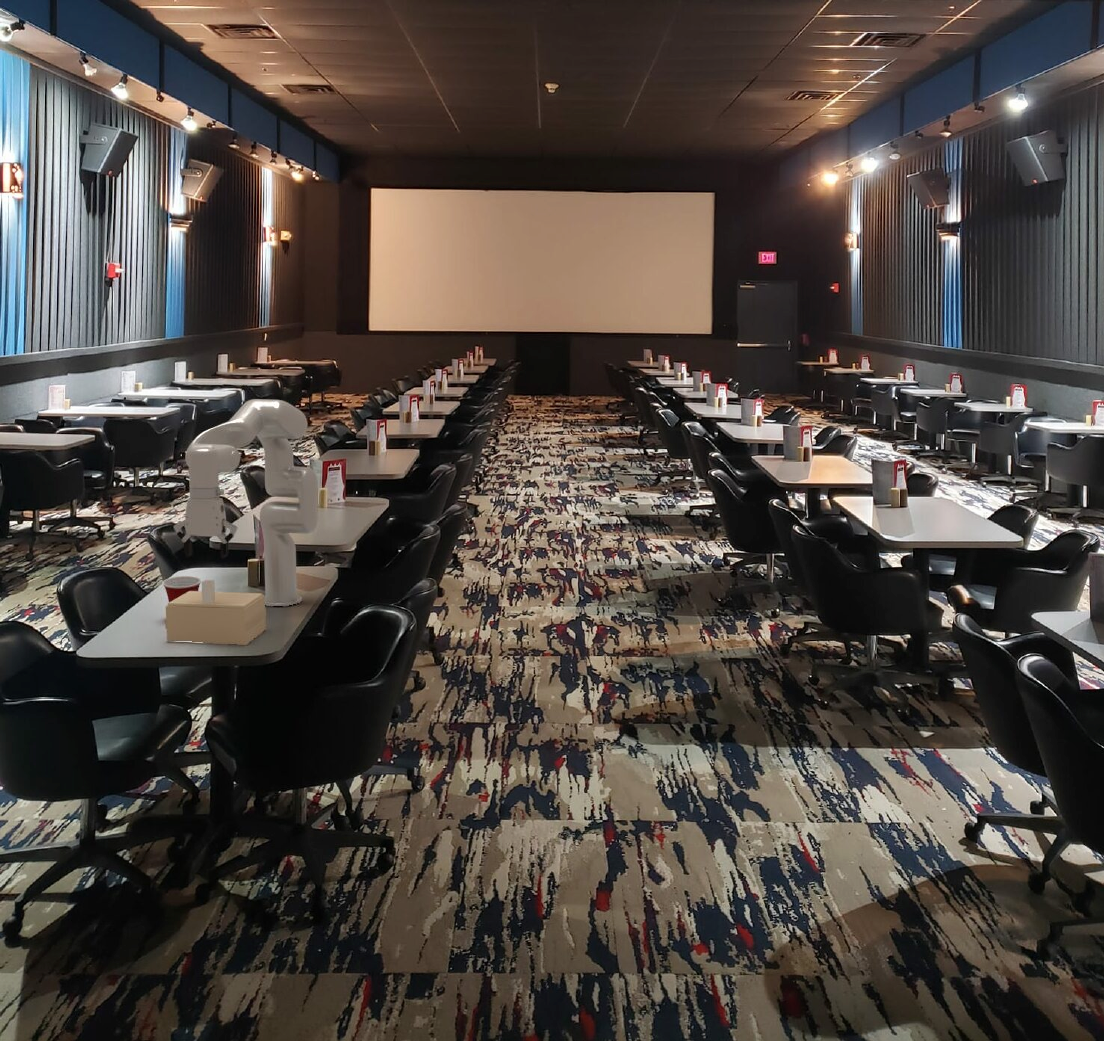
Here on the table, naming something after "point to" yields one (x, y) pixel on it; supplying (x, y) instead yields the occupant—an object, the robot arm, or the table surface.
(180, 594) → the plastic cup
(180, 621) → the carton
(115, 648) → the table surface
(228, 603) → the flap
